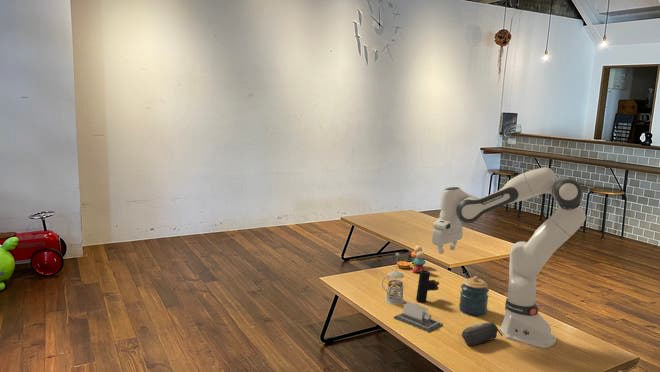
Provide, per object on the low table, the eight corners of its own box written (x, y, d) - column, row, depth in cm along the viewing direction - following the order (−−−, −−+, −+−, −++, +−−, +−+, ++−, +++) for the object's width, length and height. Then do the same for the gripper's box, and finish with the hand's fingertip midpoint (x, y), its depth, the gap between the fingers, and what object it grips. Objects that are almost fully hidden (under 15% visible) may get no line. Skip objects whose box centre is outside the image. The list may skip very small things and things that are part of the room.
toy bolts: (394, 264, 302) (395, 244, 300) (420, 263, 305) (422, 244, 303) (404, 274, 285) (405, 253, 283) (432, 273, 288) (433, 252, 286)
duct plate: (442, 326, 218) (442, 322, 218) (428, 333, 210) (428, 329, 210) (408, 312, 231) (408, 308, 231) (393, 318, 224) (393, 315, 223)
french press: (404, 305, 239) (407, 256, 235) (380, 303, 241) (383, 254, 237) (405, 298, 248) (408, 251, 244) (382, 295, 250) (384, 248, 246)
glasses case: (485, 333, 212) (487, 316, 211) (505, 344, 203) (506, 326, 202) (455, 342, 203) (456, 325, 202) (474, 353, 194) (475, 335, 193)
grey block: (408, 314, 227) (409, 301, 226) (431, 322, 218) (432, 310, 217) (403, 316, 224) (403, 304, 223) (426, 325, 215) (427, 313, 214)
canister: (456, 312, 233) (458, 277, 230) (462, 303, 244) (465, 269, 241) (484, 319, 227) (487, 283, 224) (489, 309, 238) (492, 274, 235)
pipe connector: (430, 297, 253) (434, 269, 251) (437, 300, 248) (441, 272, 246) (413, 299, 246) (417, 270, 245) (420, 302, 242) (425, 273, 240)
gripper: (455, 217, 231) (452, 246, 233) (430, 224, 217) (428, 254, 219) (467, 220, 227) (464, 249, 229) (442, 226, 212) (440, 257, 215)
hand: (446, 251), depth 224 cm, fingers open, 8 cm apart
